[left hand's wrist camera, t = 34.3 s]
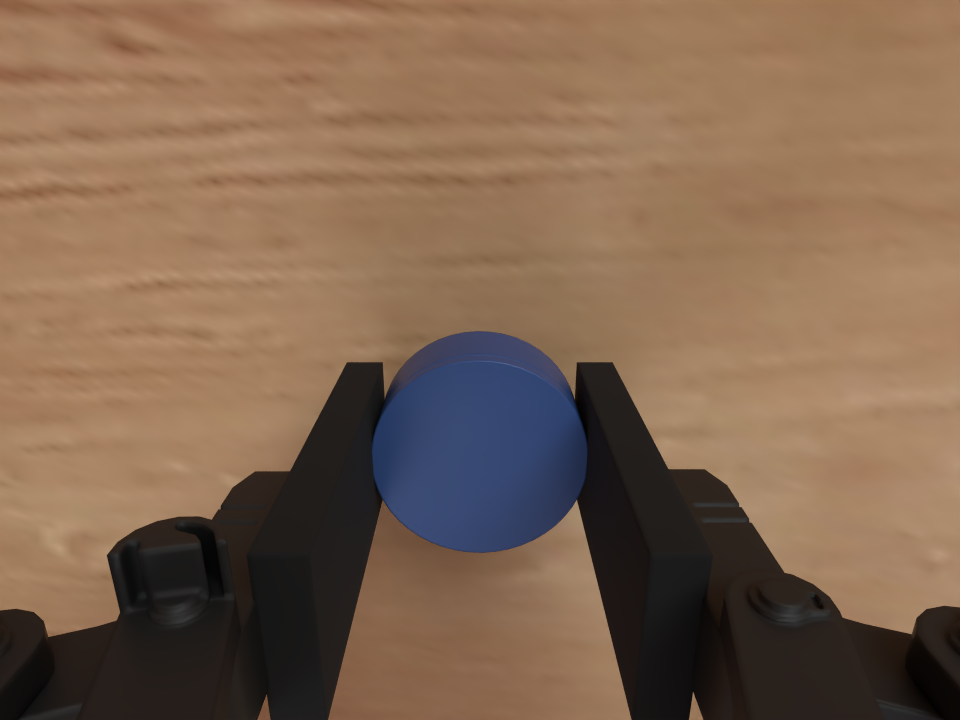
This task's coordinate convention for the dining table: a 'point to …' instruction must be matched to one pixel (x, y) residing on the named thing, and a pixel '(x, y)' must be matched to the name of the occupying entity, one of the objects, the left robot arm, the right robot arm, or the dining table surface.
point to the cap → (479, 443)
